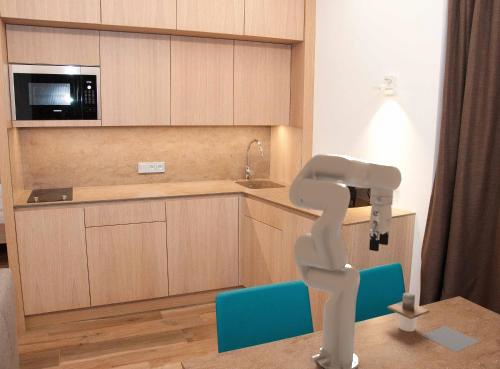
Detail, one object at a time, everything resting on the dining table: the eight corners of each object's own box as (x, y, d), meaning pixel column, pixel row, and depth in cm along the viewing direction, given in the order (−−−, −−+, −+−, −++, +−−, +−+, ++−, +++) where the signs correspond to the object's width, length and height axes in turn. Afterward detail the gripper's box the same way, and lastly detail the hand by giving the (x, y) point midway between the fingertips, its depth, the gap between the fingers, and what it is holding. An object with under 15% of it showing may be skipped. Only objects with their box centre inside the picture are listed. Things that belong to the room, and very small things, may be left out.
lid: (410, 319, 154) (411, 303, 153) (387, 308, 163) (388, 293, 162) (429, 312, 160) (430, 296, 159) (405, 302, 168) (406, 287, 167)
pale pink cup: (420, 333, 159) (421, 314, 158) (400, 333, 159) (401, 314, 158) (413, 324, 166) (414, 306, 164) (394, 324, 166) (395, 306, 165)
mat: (455, 353, 146) (455, 352, 146) (421, 336, 157) (421, 335, 156) (479, 342, 152) (479, 341, 152) (444, 327, 163) (445, 326, 163)
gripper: (383, 204, 150) (380, 255, 152) (399, 197, 164) (397, 244, 166) (361, 202, 154) (359, 251, 157) (379, 195, 168) (376, 240, 171)
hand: (378, 247), depth 161 cm, fingers open, 9 cm apart
